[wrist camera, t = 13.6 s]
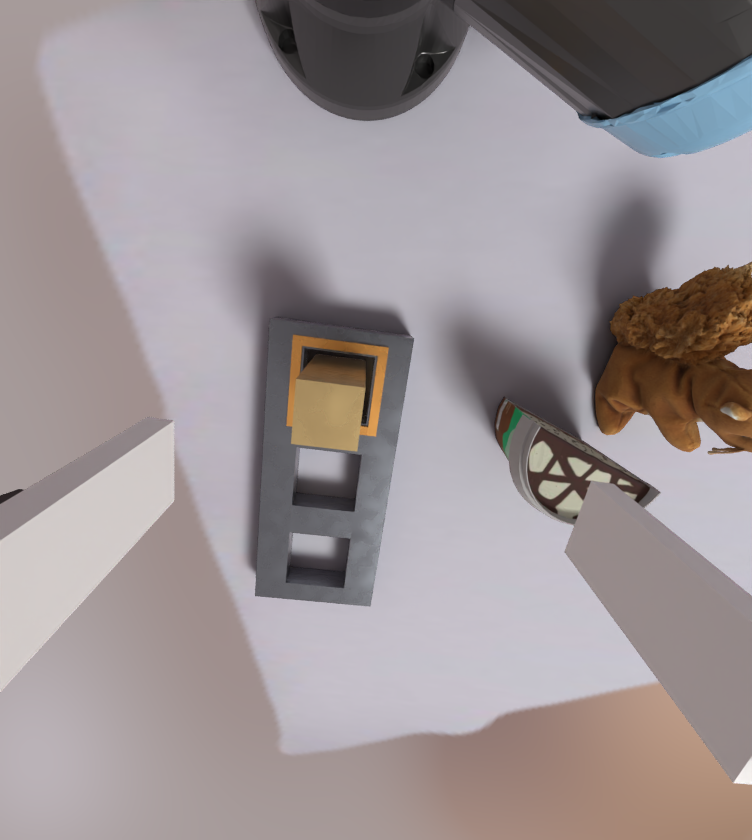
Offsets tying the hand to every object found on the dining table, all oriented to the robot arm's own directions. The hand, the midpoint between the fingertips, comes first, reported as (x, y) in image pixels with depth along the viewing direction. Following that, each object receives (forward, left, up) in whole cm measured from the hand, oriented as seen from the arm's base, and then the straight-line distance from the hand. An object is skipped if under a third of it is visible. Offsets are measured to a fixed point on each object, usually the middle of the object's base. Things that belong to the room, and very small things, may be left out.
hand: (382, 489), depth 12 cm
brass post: (+2, -3, -25) cm, 25 cm away
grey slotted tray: (+11, -3, -25) cm, 27 cm away
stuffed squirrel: (-4, +25, -25) cm, 35 cm away
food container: (+6, +16, -25) cm, 30 cm away
